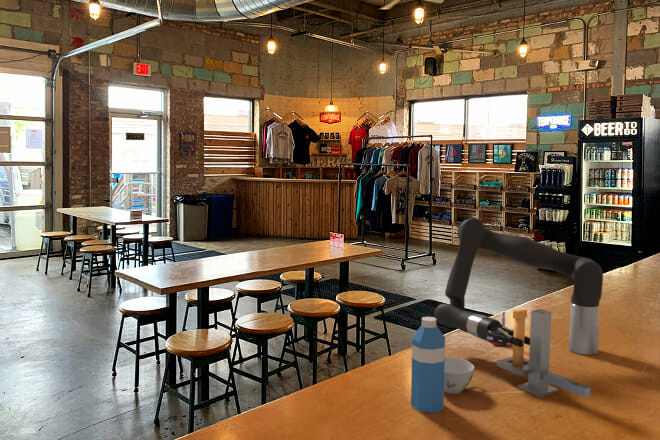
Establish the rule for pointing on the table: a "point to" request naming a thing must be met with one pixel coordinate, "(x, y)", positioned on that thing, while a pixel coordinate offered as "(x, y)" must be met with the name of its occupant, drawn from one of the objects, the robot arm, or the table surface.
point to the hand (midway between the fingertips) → (526, 342)
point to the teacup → (457, 374)
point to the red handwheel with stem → (503, 326)
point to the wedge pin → (519, 336)
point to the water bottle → (428, 367)
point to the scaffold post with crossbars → (541, 362)
